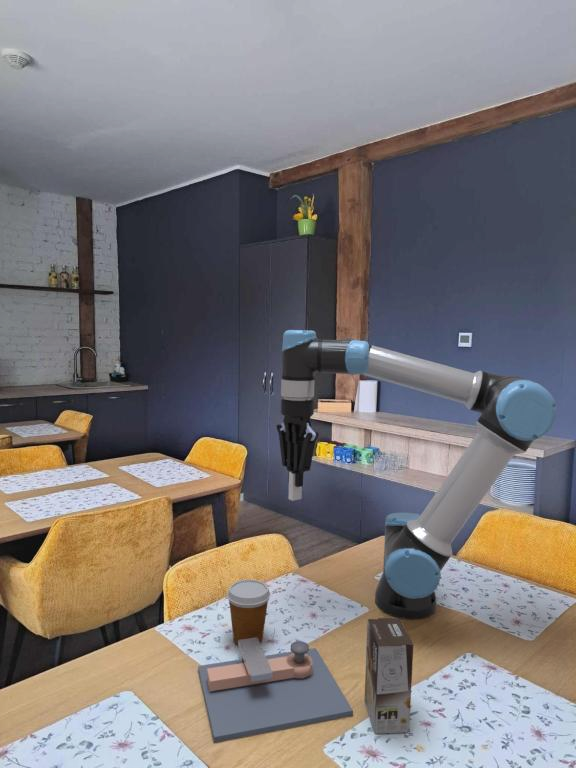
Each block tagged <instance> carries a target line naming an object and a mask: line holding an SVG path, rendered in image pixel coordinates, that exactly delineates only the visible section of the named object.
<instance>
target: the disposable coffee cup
mask: <svg viewBox="0 0 576 768" xmlns="http://www.w3.org/2000/svg"><path fill="white" fill-rule="evenodd" d="M271 595H272V594H271V591H270V589H269V586H268V585H267V584H266V583H265V582H264V581H261V580H257V579H243V580H238V581H236V582H235V581H234V582H233V583H232V584H230V586H229V589H228V591H227V592H226V598H227V599H228V602H229V610H230V618H231V619H230V621H231V627H232V628H231V629H232V636H233V637H232V638H233V643H234V645H236V646H237V647H239V646H238V640H241V639H248V638H255V637H258V640H259V642H260V644H261V645H262V642H263V636H264V630H265V623H266V617H267V610H268V604H269V603H268V602H269V600H270V597H271Z"/></svg>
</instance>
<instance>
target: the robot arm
mask: <svg viewBox="0 0 576 768" xmlns="http://www.w3.org/2000/svg"><path fill="white" fill-rule="evenodd" d="M282 336H283V337H282V346H281V347H282V349H281V384H280V386H281V387H280V388H281V389H280V396H282V399H281V400H280V414H281V415H282V416H284V418H283V420H282V421H283V422H282V423H280V424H277V425H276V430H277V434H278V440H279V447H280V454H281V455H280V456H281V457H280V458H281V465H282V466H283V467H285V468H286V470H287V471H288V473H287V483H288V500H290V501H299V500H302V497H303V494H302V493H303V484H304V473H305V472H309V471H310V470H311V467H312V466H311V465H312V462H313V455H314V451H315V445H316V442H317V439H318V438H319V435H320V434H319V432H318V431H314V430H313V428H312V422H311V417H312V416H314V412H315V401H314V399H312V398H314V396H315V378H316V373H319V374H322V373H323V374H338V375H339V374H342V375H345V374H346V375H350V376H351V375H352V376H355V375H363V376H366V377H370V378H373V379H378V380H380V381H384V382H387V383H392V384H395V385H398V386H402V387H404V388H408V389H411V390H415V391H418V392H422V393H425V394H429V395H433V396H436V397H440V398H443V399H447V400H450V401H453V402H457V403H459V404H460V403H461V404H464V405H465V407H466V409H467V410H470V411H473V412H476V413H479V414H480V416H479V418H478V419H477V420H476V428H477V433H476V435H474V437H473V439H472V440H471V441H470V443H469V445H468V446H467V448H466V449H465V450H464V452H463V453H462V455H461V456H460V458H459V459H458V460H457V462H456V463H455V465H454V466H453V468H452V469H451V470H450V472H449V474H448V475H447V476H446V478H445V479H444V481H443V482H442V484H441V485H440V486H439V488H438V490H437V491H436V492H435V494H434V495H433V497H431V499H430V501H429V503H428V504H427V506H426V507H425V509H424V510H423V511H422V513H421V514H419V513H413V512H393V513H389V514H388V515H386V517H385V521H384V522H385V523H384V546H383V547H384V548H383V549H384V550H383V551H384V552H383V570H382V574H381V576H380V579H379V581H378V584H377V587H376V589H375V594H374V596H375V597H374V602H375V604H376V606H377V608H378V609H380V610H381V611H383V612H384V613H386V614H388V615H389V616H392V617H395V618H399V619H400V618H401V619H406V620H408V619H409V620H417V619H419V620H420V619H425V618H428V617H430V616H432V615H433V614H434V613H435V612H436V611H437V595H436V592H435V591H436V590H437V588H438V586H439V584H440V582H441V576H442V575H441V574H442V573H441V571H442V570H443V568H444V567H445V566H446V564H447V563H448V561H449V560H450V558H451V557H452V556H453V550H452V549H453V548H452V543H453V542H454V540H455V539H456V537H457V536H458V534H459V533H460V531H461V530H462V529H463V528H464V526H465V525H466V523H467V521H468V520H469V518H470V517H471V516H472V514H473V513H474V512H475V510H476V509H477V507H479V505H480V503H481V502H482V501H483V499H484V498H485V496H486V495H487V493H488V492H489V491H490V489H491V488H492V486H493V485H494V483H495V482H496V481H497V480H498V478H499V477H500V475H501V474H502V472H503V471H504V469H505V468H506V467H507V465H508V464H509V462H510V461H511V460H512V458H513V457H514V456H515V455H520V454H525V453H526V452H527V450H528V449H529V448H530V446H531V445H532V443H533V442H534V441H535V440H538V439H540V438H542V437H543V436H545V435H547V434H548V433H549V432H550V431H551V429H552V428H553V427H554V424H555V422H556V418H557V413H558V411H557V409H558V408H557V403H556V401H555V399H554V397H553V395H552V394H551V393H550V392H549V390H547V389H546V388H545V387H544V386H542V385H541V384H540V383H537V382H535V381H534V380H529V379H526V378H522V377H519V376H513V375H504V374H503V375H502V374H496V373H491V372H486V371H483V370H478V371H476V372H471V371H467V370H463V369H460V368H456V367H454V366H453V367H451V366H449V365H445V364H442V363H438V362H435V361H431V360H427V359H422V358H420V357H415V356H411V355H408V354H405V353H402V352H399V351H394V350H391V349H387V348H384V347H380V346H376V345H373V344H369V342H368V341H366V340H358V339H353V338H349V337H347V338H342V339H320V338H318V337H317V333H316V331H314V330H301V329H288V330H286V331H285V332H284V333H283V335H282Z"/></svg>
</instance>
